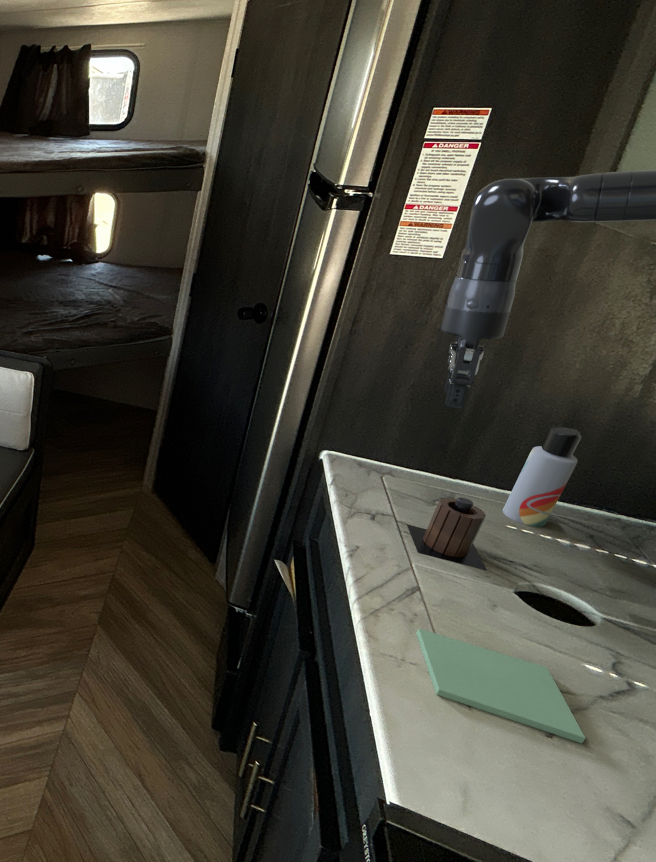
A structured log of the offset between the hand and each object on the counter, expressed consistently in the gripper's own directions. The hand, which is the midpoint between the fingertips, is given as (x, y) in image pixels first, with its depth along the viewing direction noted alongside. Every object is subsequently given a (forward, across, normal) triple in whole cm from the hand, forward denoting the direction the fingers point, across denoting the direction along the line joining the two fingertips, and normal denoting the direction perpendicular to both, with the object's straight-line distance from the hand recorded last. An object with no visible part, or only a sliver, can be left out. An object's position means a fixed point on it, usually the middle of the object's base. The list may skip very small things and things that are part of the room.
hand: (453, 400), depth 106 cm
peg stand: (+27, -2, -4) cm, 27 cm away
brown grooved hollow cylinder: (+26, -2, -4) cm, 26 cm away
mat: (+30, -32, -9) cm, 45 cm away
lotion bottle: (+26, +19, -14) cm, 35 cm away
